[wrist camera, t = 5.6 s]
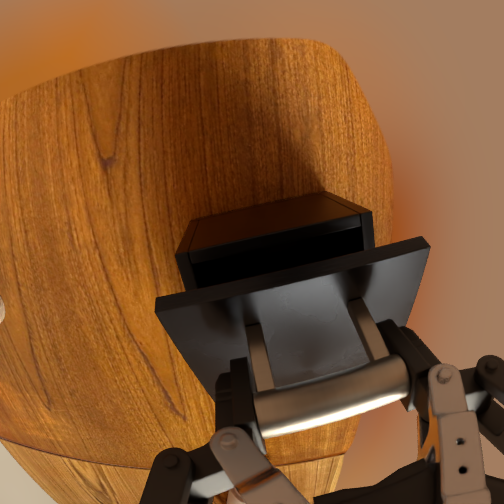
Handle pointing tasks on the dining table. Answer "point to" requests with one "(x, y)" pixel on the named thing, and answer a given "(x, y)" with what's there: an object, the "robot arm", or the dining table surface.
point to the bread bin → (272, 238)
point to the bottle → (2, 310)
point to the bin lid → (304, 334)
